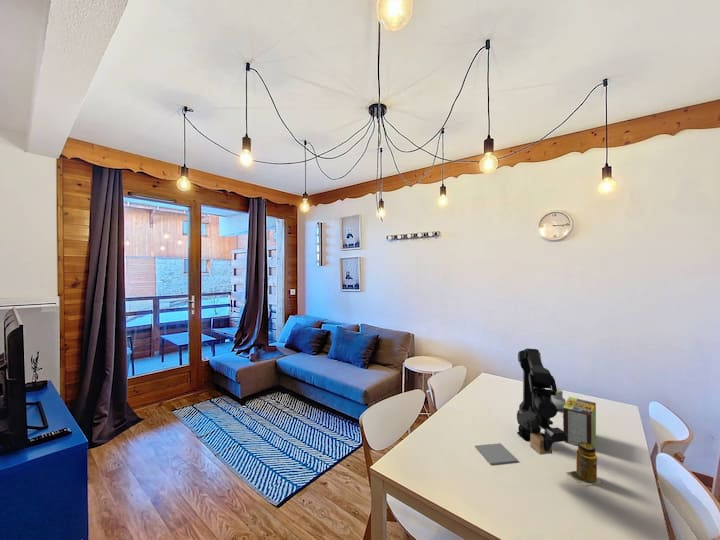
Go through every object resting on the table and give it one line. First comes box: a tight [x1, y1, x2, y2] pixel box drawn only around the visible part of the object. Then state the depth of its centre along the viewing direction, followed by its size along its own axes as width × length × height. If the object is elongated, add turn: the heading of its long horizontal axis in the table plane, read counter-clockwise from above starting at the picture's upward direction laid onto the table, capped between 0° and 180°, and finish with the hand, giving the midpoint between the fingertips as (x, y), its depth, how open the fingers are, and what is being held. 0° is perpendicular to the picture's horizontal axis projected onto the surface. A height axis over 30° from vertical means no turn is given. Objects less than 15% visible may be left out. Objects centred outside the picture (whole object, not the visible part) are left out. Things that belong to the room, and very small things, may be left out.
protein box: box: [562, 396, 597, 447], centre depth 138 cm, size 10×15×16 cm
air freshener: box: [549, 387, 566, 411], centre depth 169 cm, size 11×8×10 cm
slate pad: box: [474, 442, 519, 466], centre depth 127 cm, size 12×12×1 cm
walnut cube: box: [529, 432, 553, 456], centre depth 114 cm, size 5×5×5 cm
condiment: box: [565, 442, 603, 487], centre depth 113 cm, size 7×8×12 cm
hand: (541, 447), depth 114 cm, fingers closed on walnut cube, 5 cm apart
